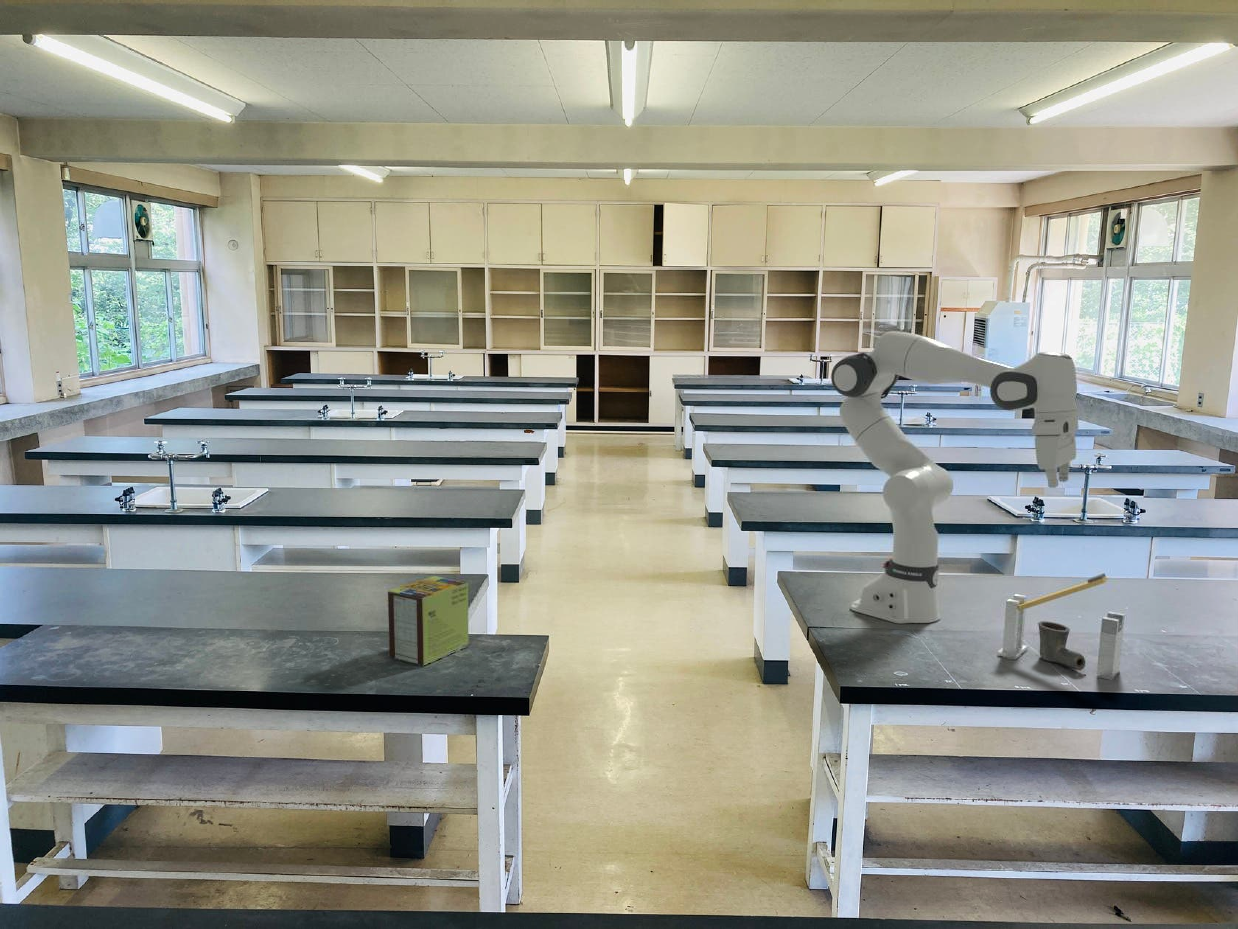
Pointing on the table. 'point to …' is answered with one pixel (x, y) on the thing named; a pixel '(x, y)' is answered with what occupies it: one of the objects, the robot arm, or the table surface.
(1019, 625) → the grey slotted stand
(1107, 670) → the stop block
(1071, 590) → the yellow bar
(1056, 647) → the pipe
